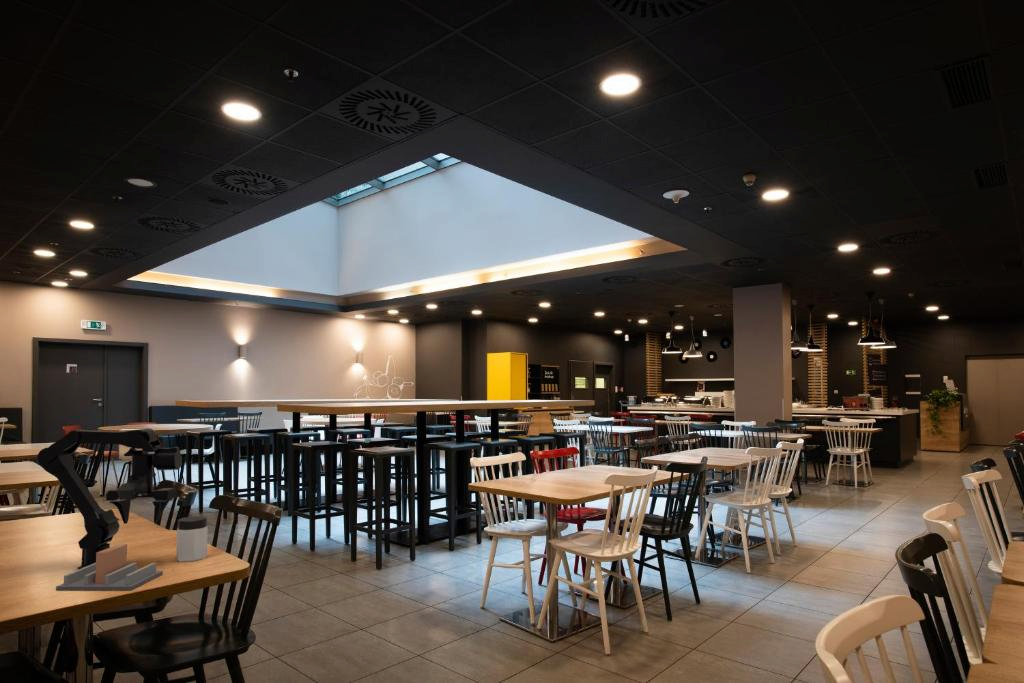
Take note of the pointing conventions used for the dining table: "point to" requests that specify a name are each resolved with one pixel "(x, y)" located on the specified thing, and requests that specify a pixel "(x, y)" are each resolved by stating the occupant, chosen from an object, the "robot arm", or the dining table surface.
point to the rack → (110, 578)
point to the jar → (192, 538)
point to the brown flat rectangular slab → (110, 561)
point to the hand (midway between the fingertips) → (140, 523)
